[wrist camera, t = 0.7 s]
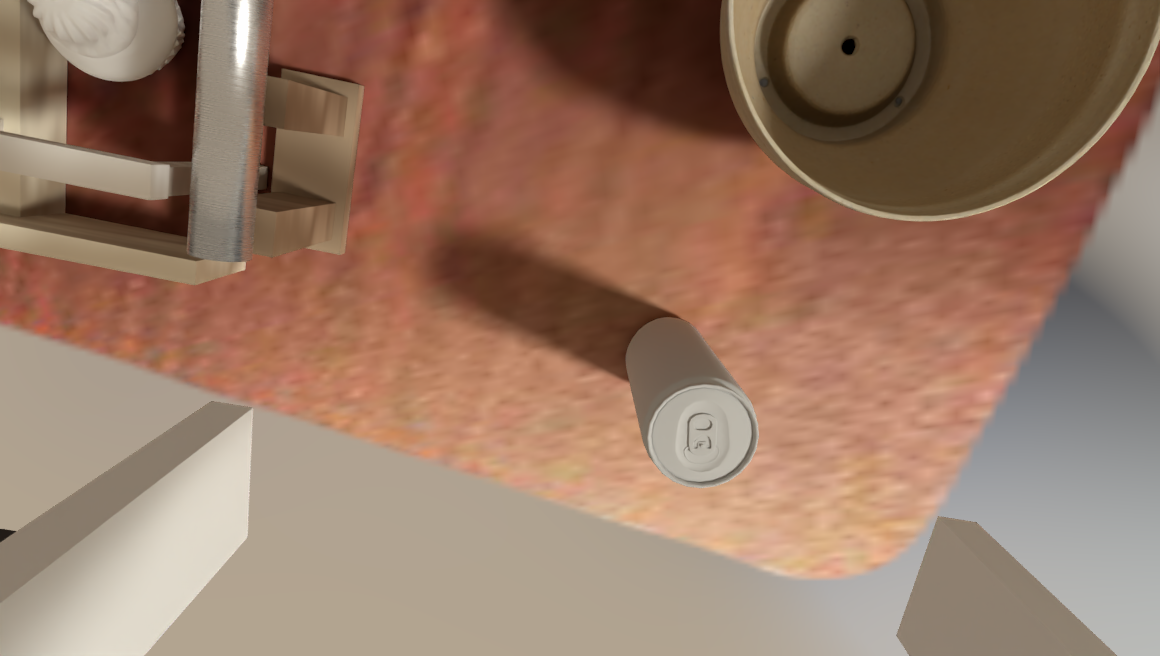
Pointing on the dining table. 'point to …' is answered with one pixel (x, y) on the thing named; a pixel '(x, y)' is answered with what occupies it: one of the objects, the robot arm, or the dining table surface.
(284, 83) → the cream cubby shelf
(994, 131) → the planter bowl
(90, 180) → the beige open frame
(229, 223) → the hammer
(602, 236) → the dining table surface
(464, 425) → the dining table surface
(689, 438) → the beverage can
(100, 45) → the white lumpy mound
